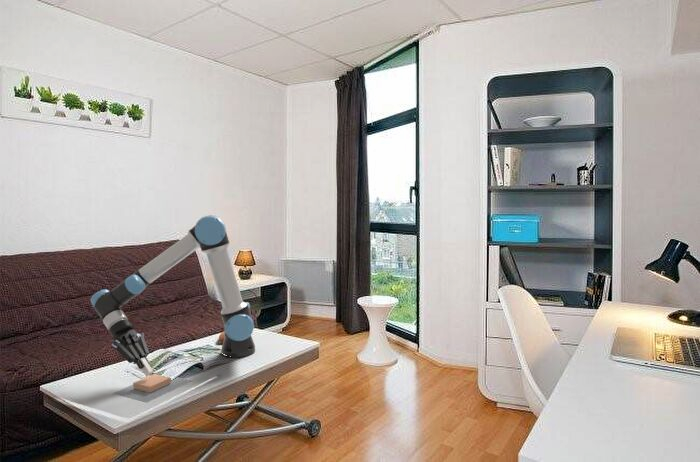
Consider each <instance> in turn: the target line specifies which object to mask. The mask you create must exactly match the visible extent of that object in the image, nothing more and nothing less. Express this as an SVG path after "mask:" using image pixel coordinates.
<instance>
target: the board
mask: <svg viewBox="0 0 700 462" xmlns="http://www.w3.org/2000/svg"><path fill="white" fill-rule="evenodd" d="M176 377H177V378H176V379H174V380H172V381H171V383H170V384H169V385H167V386H164V387H162V388H160V389H158V390H156V391H154V392H151V393H149V392H145V391H141V390H137V389H134V388H133V384H130V385H129V386H126V387H124V388H122V389H119V390H117V391H115V392H113V394H115V395H118V396H122V397H125V398H129V399H131V400H136V401H139V402H144V403H149V402H151V401H153V400H155V399H158V398H159V397H162V396H163V395H166V394H168V393H171V392H172V391H174V390H176V389H178V388H180V387H182V386H185V385H187V384H188V383H191V382H193V380H191V379H187V378H183V377H178V376H176Z"/></svg>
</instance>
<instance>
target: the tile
mask: <svg viewBox="0 0 700 462" xmlns="http://www.w3.org/2000/svg"><path fill="white" fill-rule="evenodd" d="M170 383H171V378H170V377H165V376H161V375H157V374H155V373H153V374H150V375H149V376H147V377H146V376H145V377H144V378H141V379H139V380H137V381H135V382H133V383H132V385H133V388H134V389H137V390H141V391H145V392H149V393H151V392H154V391H156V390H158V389H160V388H162V387H164V386H167V385H169V384H170Z"/></svg>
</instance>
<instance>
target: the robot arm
mask: <svg viewBox="0 0 700 462" xmlns="http://www.w3.org/2000/svg"><path fill="white" fill-rule="evenodd" d="M226 229H227V228H226V225H225V223H224V220H222V219H221V218H219V216H216V215H210V214H209V215H205V216H202V217H201V218H199V219H198V221H197V222H196V224H195V225H194V226H192V228H191V229H189V230H188V232H187V234H186V235H184V236H183V237H181V239H179V240H177V241H176V242H175V243H174V244H172V245H171V246H170V247H168V248H167V249H166V250H164V251H162V252H161V253H160V254H158V255H157V256H155V257H154V258H153V259H152V260H150V261H149V262H148V263H146V264H145V265H144V266H142V267H141V268H139V269H138V270H137V271H135V272H133V274H131V275H129V276H128V277H127V278H126V279H124V280H123V281H121V282H120V283H119V284H117V285H116V286H115V287H114V288H112V289H110V290H109V289H101V290H100V291H97V292H95V293H94V294H93V295H92V296H91V297H90V302H91V305H92V307H93V309H94V310H95V312H96V313H97V315H98V316H99V318H100V319H101V321H102V322H103V324H104V325H105V327H106V329H107V330H108V333H109V334H110V335H111V337H112V338H113V339H114V341H113V342H112V344H111V345H110V347H111V348H113V349H114V350H116V351H117V352H118V353H119V355H121V356H122V357H123V358H124V359H125V360H126V361H127V362H128V363H129V364H133V365H137V368H138V369H139V370H141V371H142V372H143V374H144V375H145V378H146V377H148V376H151V375H152V373H153V372H154V370H153V369H152V367H151V364H150V361H149V360H148V358H147V357H148V356H149V354H150V351H149V349H148V348H149V347H148V345H147V342H146V340H145V333H144V332H140V333H138V332H137V331H136V330H134V329H133V325H132V323H131V321H130V320H129V319H128V317H127V315H126V314H125V312H124V311H123V310H122V307H123V306H124V305H126V303H128V302H130V301H131V300H132V299H134V298H135V297H137V296H138V295H140V294H141V293H142V292H143V291H144V290H146V287H148V286H149V285H150V284H152V283H153V282H154V281H155V280H157V279H159V277H162V275H164V274H166V273H167V272H168V271H169V270H170V269H172V268H174V267H175V266H176V265H177V264H179V263H180V262H181V261H183V260H184V259H186V258H187V257H188V256H190V255H191V254H193V253H194V252H195V251H197V250H198V249H199V248H200V251H201V252H202V253H205V254H206V257H207V261H208V263H209V267H210V269H211V270H210V271H211V274H212V277H213V279H214V283H215V286H216V290H217V294H218V296H219V299H220V300H219V301H220V303H221V307H222V308H221V311H220V315H221V320H222V321H223V325H224V331H225V338H224V342H223V344H221V345H222V346H221V350H220V351H221V352H222V353H223V354H225V355H227V356H231V357H236V359H237V358H242V357H244V358H245V357H248V356H250V355H253V354H254V353H256V345H255V342H254V340H253V336H252V334H253V331H254V329H255V328H254V327H255V323H254V320H253V318H252V315H251V304H250V303H249V302H248V301H247V302H245V301H244V300H243V298H242V294H241V290H240V288H239V285H238V284H239V283H238V280H237V277H236V274H235V271H234V268H233V264H232V261H231V257H230V253H229V250H228V247H229V245H230V240H229V237H228V234H227V231H226ZM221 352H220V353H221Z"/></svg>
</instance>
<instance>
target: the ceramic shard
mask: <svg viewBox="0 0 700 462" xmlns="http://www.w3.org/2000/svg"><path fill="white" fill-rule="evenodd" d="M224 338H225V330H224V331H222V332H221V333H220V335H219V337H218V344H219V345H223V342H224Z"/></svg>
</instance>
